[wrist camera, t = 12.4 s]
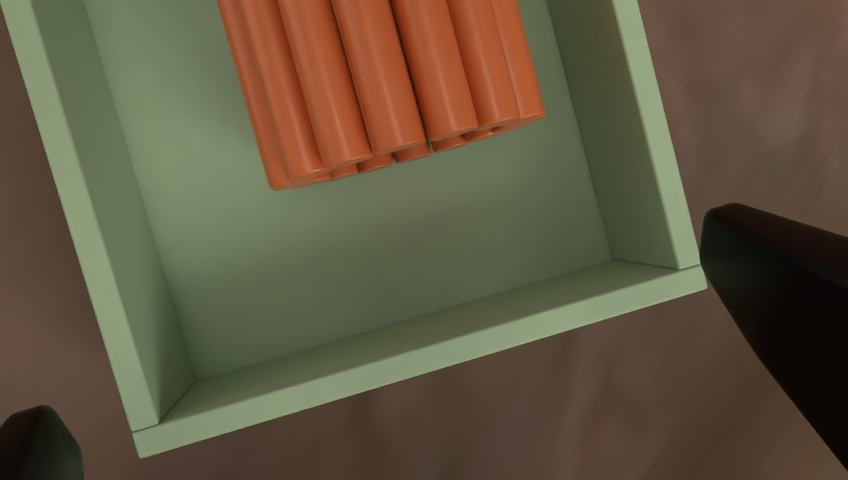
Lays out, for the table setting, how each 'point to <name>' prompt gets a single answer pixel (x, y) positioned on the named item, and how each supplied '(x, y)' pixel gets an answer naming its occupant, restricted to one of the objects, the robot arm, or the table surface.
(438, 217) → the bin
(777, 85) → the table surface
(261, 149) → the ring
